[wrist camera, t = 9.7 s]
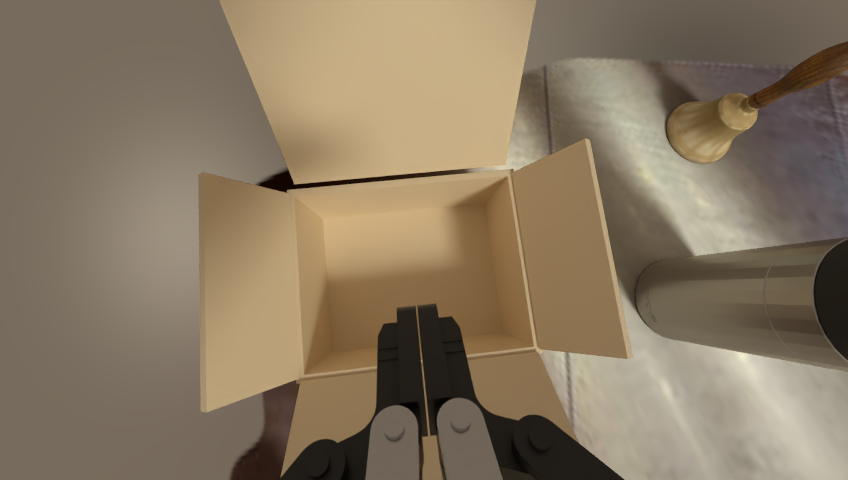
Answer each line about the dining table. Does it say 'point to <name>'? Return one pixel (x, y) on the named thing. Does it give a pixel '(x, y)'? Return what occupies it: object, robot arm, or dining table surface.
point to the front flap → (385, 81)
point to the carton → (404, 287)
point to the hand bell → (744, 108)
